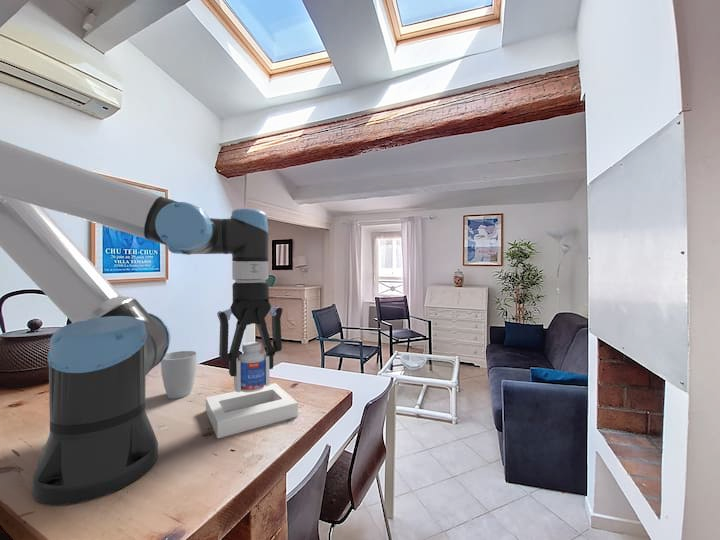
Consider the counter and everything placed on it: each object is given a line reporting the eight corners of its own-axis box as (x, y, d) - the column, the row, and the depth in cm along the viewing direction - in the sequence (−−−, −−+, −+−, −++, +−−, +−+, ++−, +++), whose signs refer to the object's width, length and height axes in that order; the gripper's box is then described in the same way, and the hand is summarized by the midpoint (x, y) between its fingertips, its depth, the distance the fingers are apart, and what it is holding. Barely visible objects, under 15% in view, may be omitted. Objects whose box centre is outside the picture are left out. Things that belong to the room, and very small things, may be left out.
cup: (203, 388, 84) (203, 351, 84) (184, 401, 76) (184, 359, 76) (175, 387, 85) (175, 350, 85) (152, 400, 77) (152, 359, 77)
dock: (217, 438, 60) (217, 422, 60) (201, 401, 76) (201, 389, 76) (297, 416, 69) (297, 402, 69) (267, 387, 85) (267, 376, 85)
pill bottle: (248, 395, 66) (247, 348, 66) (233, 389, 70) (233, 344, 69) (270, 387, 71) (269, 343, 71) (255, 382, 74) (255, 339, 74)
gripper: (207, 283, 62) (208, 403, 62) (297, 280, 72) (298, 383, 72) (201, 282, 68) (203, 391, 68) (285, 279, 78) (286, 374, 78)
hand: (252, 386), depth 70 cm, fingers closed on pill bottle, 5 cm apart
